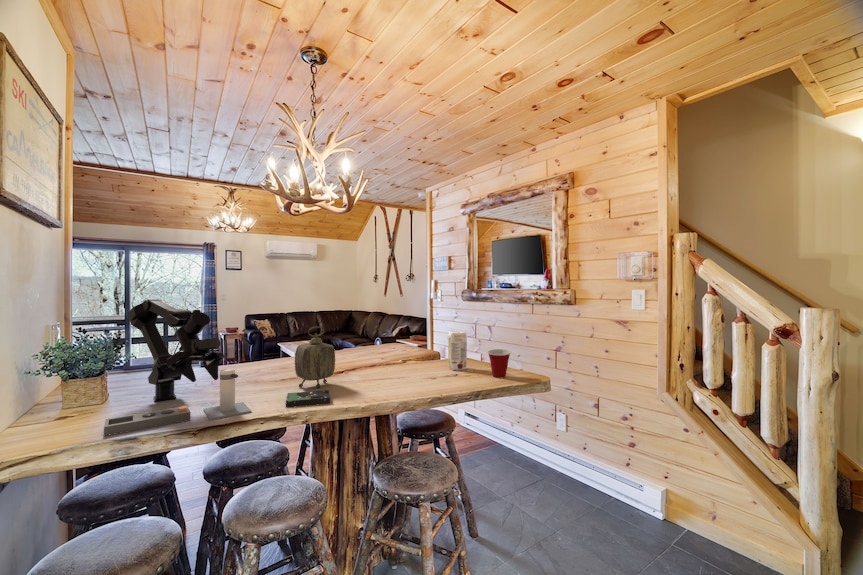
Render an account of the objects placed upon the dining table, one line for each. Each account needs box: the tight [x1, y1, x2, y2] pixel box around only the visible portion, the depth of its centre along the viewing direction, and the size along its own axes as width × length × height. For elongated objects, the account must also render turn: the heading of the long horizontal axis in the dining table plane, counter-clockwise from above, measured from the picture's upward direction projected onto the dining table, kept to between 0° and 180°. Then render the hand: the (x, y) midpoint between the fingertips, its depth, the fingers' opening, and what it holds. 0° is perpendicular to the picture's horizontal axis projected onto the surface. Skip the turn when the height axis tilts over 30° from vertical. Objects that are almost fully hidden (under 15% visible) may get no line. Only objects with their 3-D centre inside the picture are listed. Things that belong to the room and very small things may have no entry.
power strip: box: [103, 405, 191, 436], centre depth 111 cm, size 8×20×3 cm, turn 129°
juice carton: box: [447, 330, 468, 371], centre depth 189 cm, size 8×9×19 cm
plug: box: [219, 368, 239, 412], centre depth 122 cm, size 7×4×13 cm, turn 66°
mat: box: [203, 401, 253, 421], centre depth 123 cm, size 12×12×1 cm
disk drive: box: [285, 389, 331, 408], centre depth 134 cm, size 10×3×15 cm
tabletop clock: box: [294, 325, 336, 388], centre depth 154 cm, size 14×9×25 cm, turn 133°
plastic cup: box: [487, 348, 512, 379], centre depth 173 cm, size 11×11×12 cm
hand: (206, 380), depth 125 cm, fingers open, 9 cm apart
